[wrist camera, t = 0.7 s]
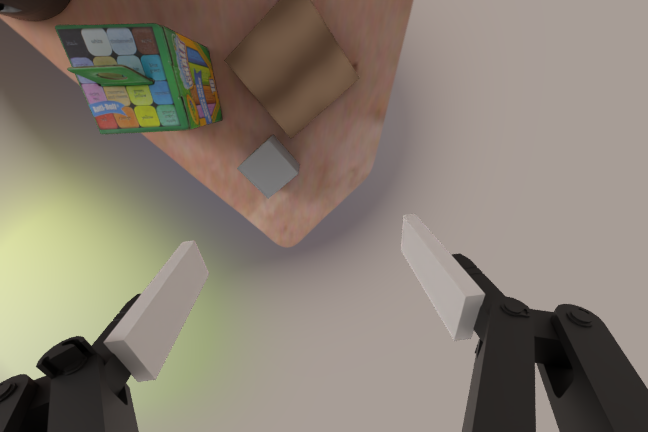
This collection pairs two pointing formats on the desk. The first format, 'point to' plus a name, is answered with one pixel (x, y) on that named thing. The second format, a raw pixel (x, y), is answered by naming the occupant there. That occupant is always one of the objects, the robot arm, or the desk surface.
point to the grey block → (270, 167)
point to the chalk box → (141, 77)
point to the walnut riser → (292, 64)
